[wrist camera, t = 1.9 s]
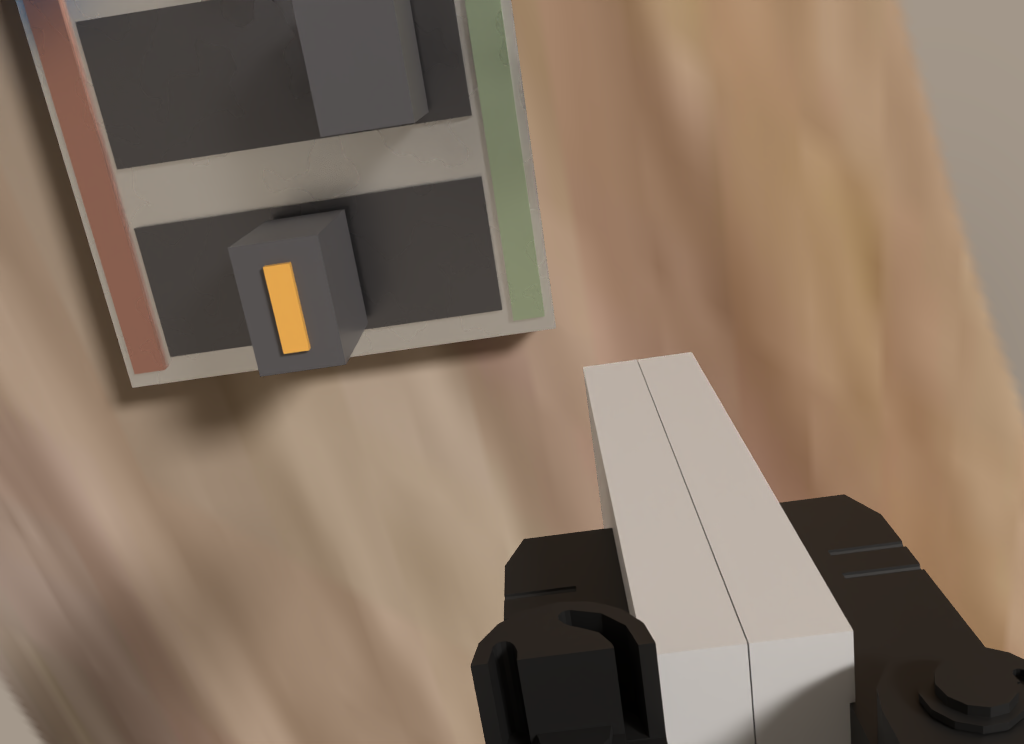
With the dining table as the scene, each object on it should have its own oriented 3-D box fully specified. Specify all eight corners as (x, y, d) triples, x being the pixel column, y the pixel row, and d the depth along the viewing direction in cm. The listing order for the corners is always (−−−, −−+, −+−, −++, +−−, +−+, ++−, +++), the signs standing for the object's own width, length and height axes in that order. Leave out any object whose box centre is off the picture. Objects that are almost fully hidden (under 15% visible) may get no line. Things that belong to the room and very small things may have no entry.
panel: (-18, -224, 26) (-63, -247, 24) (468, -310, 26) (464, -341, 24) (154, 367, 32) (130, 389, 30) (553, 311, 32) (556, 330, 29)
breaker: (321, -8, 26) (288, -17, 22) (405, -22, 26) (387, -33, 22) (347, 124, 27) (320, 137, 23) (428, 112, 27) (414, 122, 23)
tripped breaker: (266, 221, 28) (225, 249, 24) (344, 209, 28) (316, 236, 24) (293, 333, 29) (258, 379, 25) (368, 323, 29) (344, 366, 25)
